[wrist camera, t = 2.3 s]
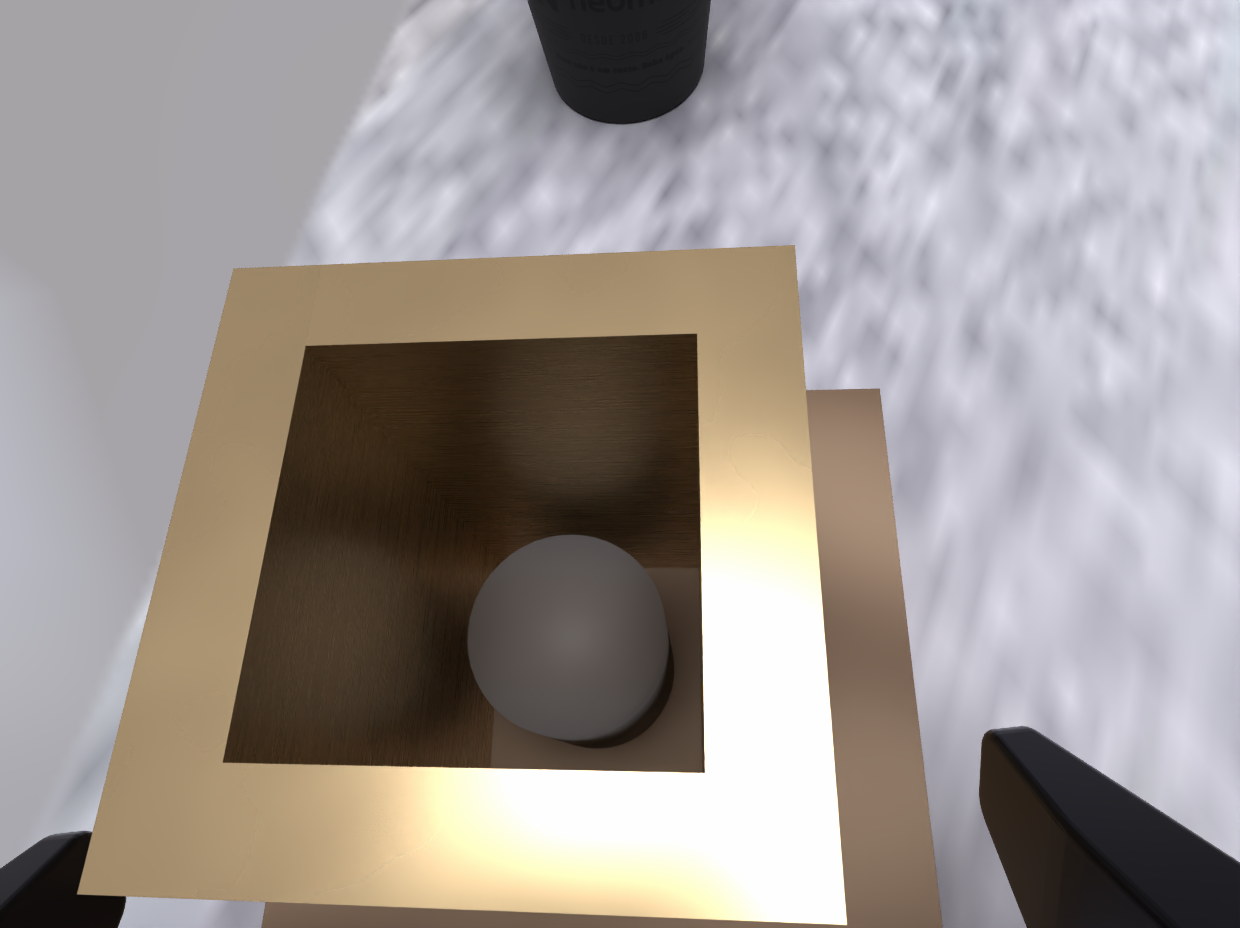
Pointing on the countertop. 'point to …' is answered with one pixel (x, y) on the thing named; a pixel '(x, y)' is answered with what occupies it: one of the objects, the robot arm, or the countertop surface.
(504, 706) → the post stand
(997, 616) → the countertop surface
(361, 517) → the collar
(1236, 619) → the countertop surface
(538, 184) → the countertop surface
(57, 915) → the robot arm
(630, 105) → the drinking cup
